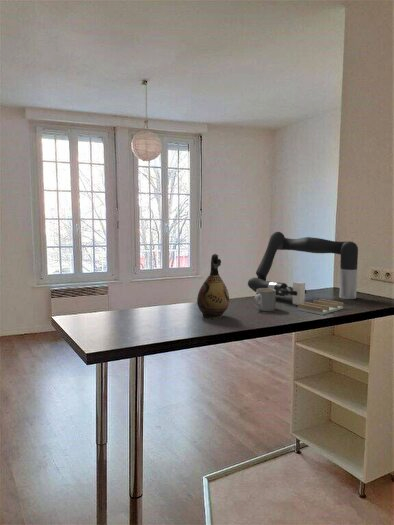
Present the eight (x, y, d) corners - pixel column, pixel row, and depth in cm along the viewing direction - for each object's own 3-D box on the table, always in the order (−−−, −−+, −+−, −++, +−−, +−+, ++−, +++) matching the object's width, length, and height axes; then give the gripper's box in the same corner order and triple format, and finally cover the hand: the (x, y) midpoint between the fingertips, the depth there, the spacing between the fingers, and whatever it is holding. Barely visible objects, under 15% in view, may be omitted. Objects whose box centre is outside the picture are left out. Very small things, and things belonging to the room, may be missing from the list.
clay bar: (296, 302, 224) (297, 281, 223) (304, 304, 220) (305, 282, 219) (292, 303, 221) (293, 282, 220) (300, 305, 218) (300, 283, 216)
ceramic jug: (231, 320, 186) (232, 256, 183) (198, 320, 185) (198, 256, 182) (226, 311, 203) (226, 252, 200) (195, 312, 202) (195, 252, 199)
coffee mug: (267, 305, 217) (267, 287, 215) (279, 309, 208) (279, 290, 207) (246, 308, 210) (247, 289, 209) (258, 312, 201) (259, 292, 200)
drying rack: (319, 304, 220) (319, 298, 220) (343, 308, 209) (343, 302, 209) (297, 309, 207) (297, 303, 207) (321, 314, 196) (322, 308, 196)
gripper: (269, 283, 226) (293, 287, 214) (285, 280, 235) (309, 284, 223) (269, 296, 227) (293, 301, 215) (285, 293, 236) (308, 297, 224)
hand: (301, 292), depth 219 cm, fingers open, 8 cm apart
